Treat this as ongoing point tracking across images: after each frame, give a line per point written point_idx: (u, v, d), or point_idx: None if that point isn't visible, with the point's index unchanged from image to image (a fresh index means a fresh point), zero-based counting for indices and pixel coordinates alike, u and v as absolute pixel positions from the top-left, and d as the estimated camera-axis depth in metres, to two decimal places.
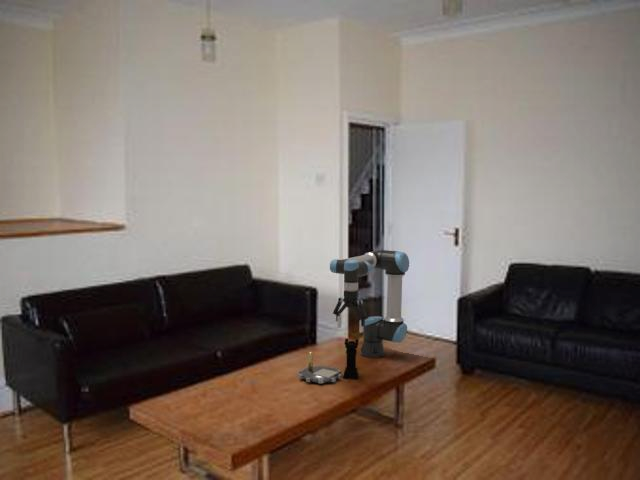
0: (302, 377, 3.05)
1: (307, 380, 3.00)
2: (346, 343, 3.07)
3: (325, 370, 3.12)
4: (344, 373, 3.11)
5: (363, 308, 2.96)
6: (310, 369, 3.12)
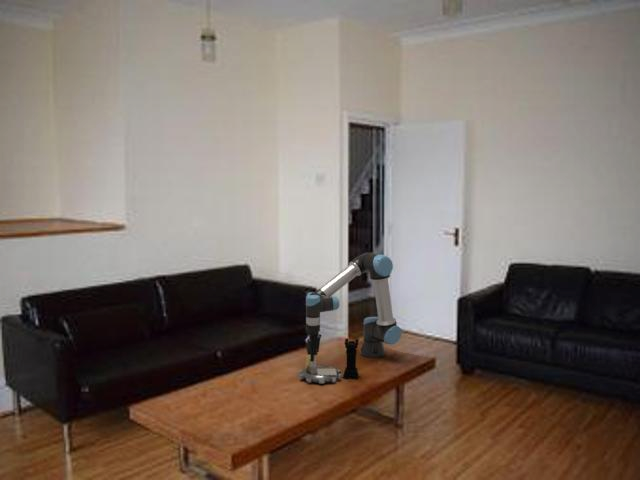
0: (311, 380, 3.00)
1: (321, 382, 2.98)
2: (346, 343, 3.07)
3: (321, 369, 3.13)
4: (344, 373, 3.11)
5: (307, 346, 3.08)
6: (309, 371, 3.08)
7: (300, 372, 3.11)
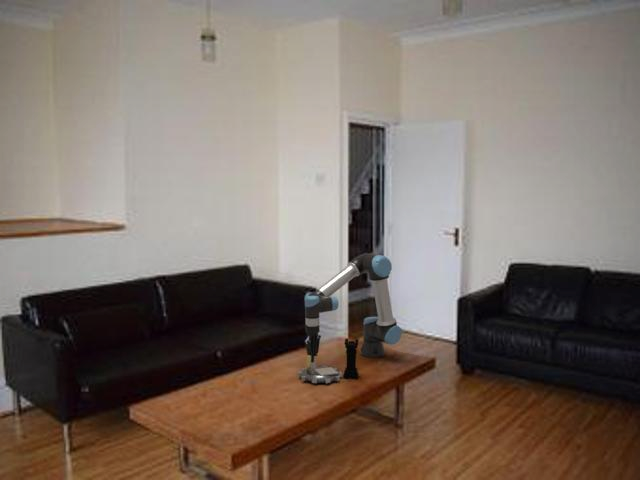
0: (317, 381, 2.99)
1: (327, 381, 2.99)
2: (346, 343, 3.07)
3: (319, 369, 3.13)
4: (344, 373, 3.11)
5: (307, 347, 3.06)
6: (310, 372, 3.06)
7: (300, 374, 3.08)
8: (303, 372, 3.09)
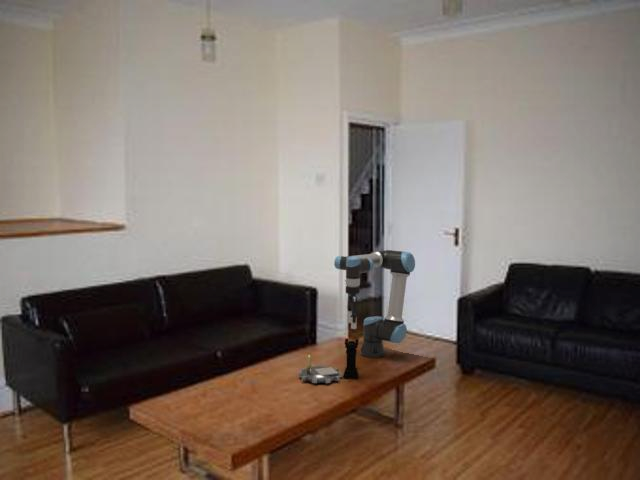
0: (317, 381, 2.99)
1: (327, 381, 2.99)
2: (346, 343, 3.07)
3: (319, 369, 3.13)
4: (344, 373, 3.11)
5: (354, 305, 3.01)
6: (310, 372, 3.06)
7: (300, 374, 3.08)
8: (303, 372, 3.09)
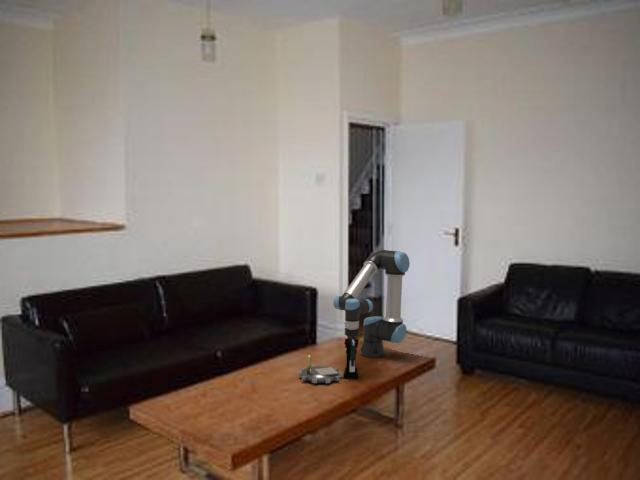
0: (317, 381, 2.99)
1: (327, 381, 2.99)
2: (346, 343, 3.07)
3: (319, 369, 3.13)
4: (344, 373, 3.11)
5: (353, 349, 3.04)
6: (310, 372, 3.06)
7: (300, 374, 3.08)
8: (303, 372, 3.09)
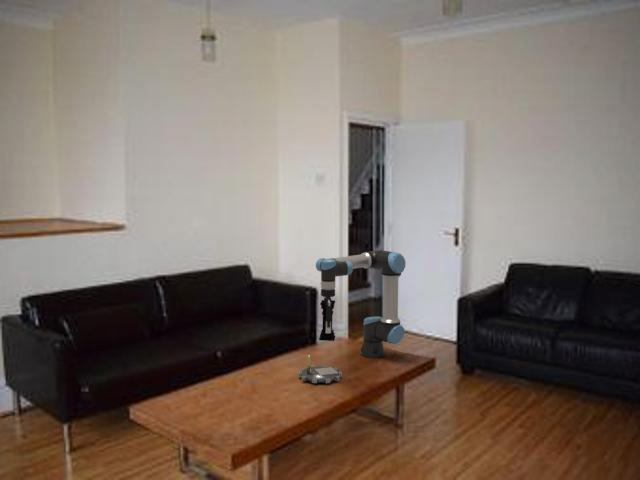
0: (317, 381, 2.99)
1: (327, 381, 2.99)
2: (322, 304, 3.02)
3: (319, 369, 3.13)
4: (320, 335, 3.05)
5: (329, 310, 2.99)
6: (310, 372, 3.06)
7: (300, 374, 3.08)
8: (303, 372, 3.09)
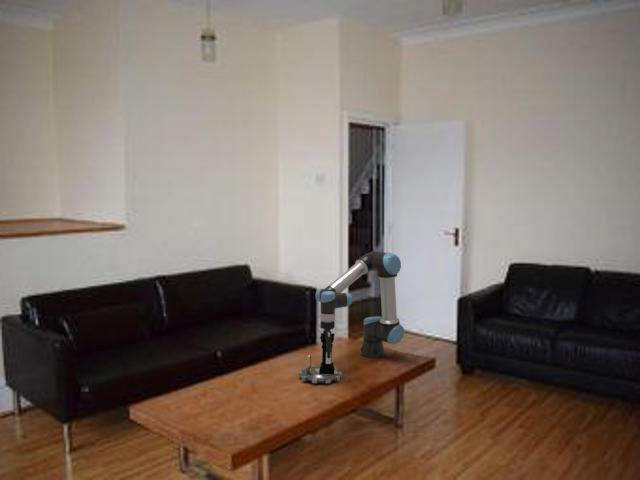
0: (317, 381, 2.99)
1: (327, 381, 2.99)
2: (322, 337, 3.04)
3: (319, 369, 3.13)
4: (320, 368, 3.07)
5: (328, 340, 3.00)
6: (310, 372, 3.06)
7: (300, 374, 3.08)
8: (303, 372, 3.09)
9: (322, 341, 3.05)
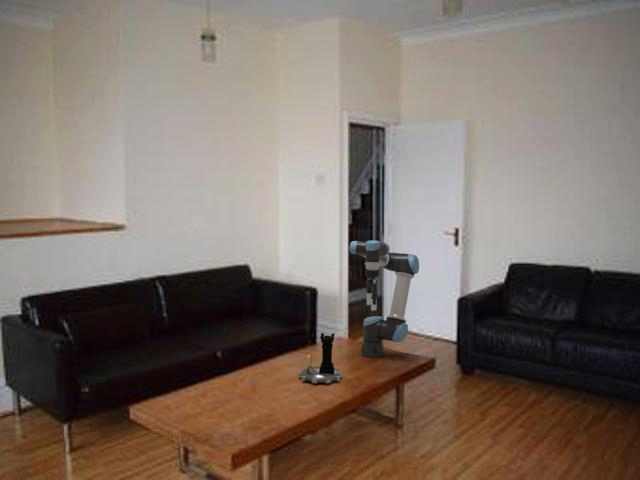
0: (317, 381, 2.99)
1: (327, 381, 2.99)
2: (322, 337, 3.04)
3: (319, 369, 3.13)
4: (320, 368, 3.07)
5: (374, 287, 3.07)
6: (310, 372, 3.06)
7: (300, 374, 3.08)
8: (303, 372, 3.09)
9: (322, 341, 3.05)
